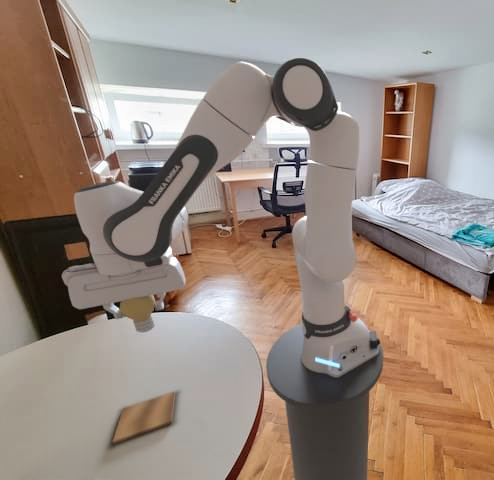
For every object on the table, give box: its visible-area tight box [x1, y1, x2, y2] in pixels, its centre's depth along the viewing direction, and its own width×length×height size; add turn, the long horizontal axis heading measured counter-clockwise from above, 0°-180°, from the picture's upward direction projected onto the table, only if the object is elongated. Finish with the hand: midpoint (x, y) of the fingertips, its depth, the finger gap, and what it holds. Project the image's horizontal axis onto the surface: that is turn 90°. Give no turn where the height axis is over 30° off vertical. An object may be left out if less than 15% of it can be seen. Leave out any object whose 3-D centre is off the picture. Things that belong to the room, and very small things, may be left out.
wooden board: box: [112, 391, 176, 444], centre depth 62 cm, size 10×8×1 cm
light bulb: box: [119, 295, 156, 333], centre depth 66 cm, size 6×6×10 cm
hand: (141, 312), depth 66 cm, fingers closed on light bulb, 6 cm apart
